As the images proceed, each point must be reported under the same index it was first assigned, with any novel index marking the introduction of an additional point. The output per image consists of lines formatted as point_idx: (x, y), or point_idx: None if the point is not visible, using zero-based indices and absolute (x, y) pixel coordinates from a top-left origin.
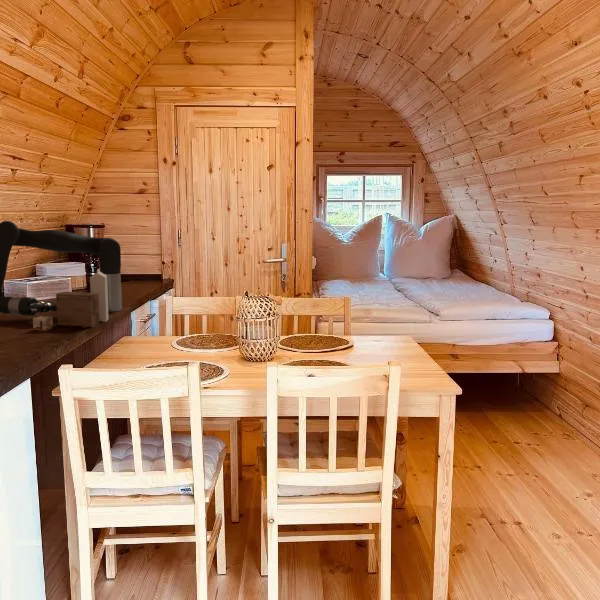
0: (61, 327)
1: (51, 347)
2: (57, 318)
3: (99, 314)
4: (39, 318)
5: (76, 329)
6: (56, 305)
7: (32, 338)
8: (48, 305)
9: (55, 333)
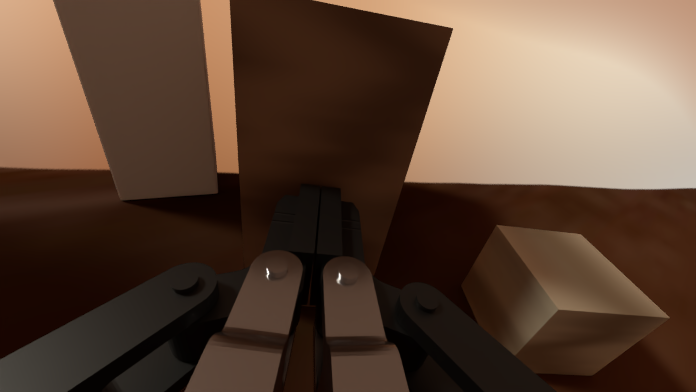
0: (398, 265)
1: (611, 189)
2: (373, 271)
3: (213, 135)
4: (608, 270)
5: (401, 200)
6: (315, 216)
7: (647, 275)
8: (370, 291)
9: None
